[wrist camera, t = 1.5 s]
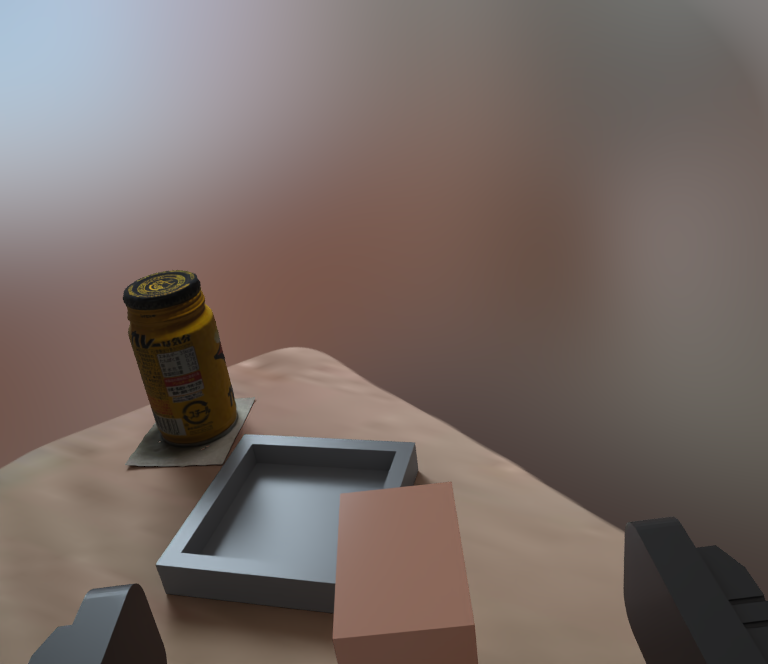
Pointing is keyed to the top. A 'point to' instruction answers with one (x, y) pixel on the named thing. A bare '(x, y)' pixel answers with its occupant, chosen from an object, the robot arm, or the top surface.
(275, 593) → the tray
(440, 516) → the brick
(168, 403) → the condiment
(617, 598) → the top surface
